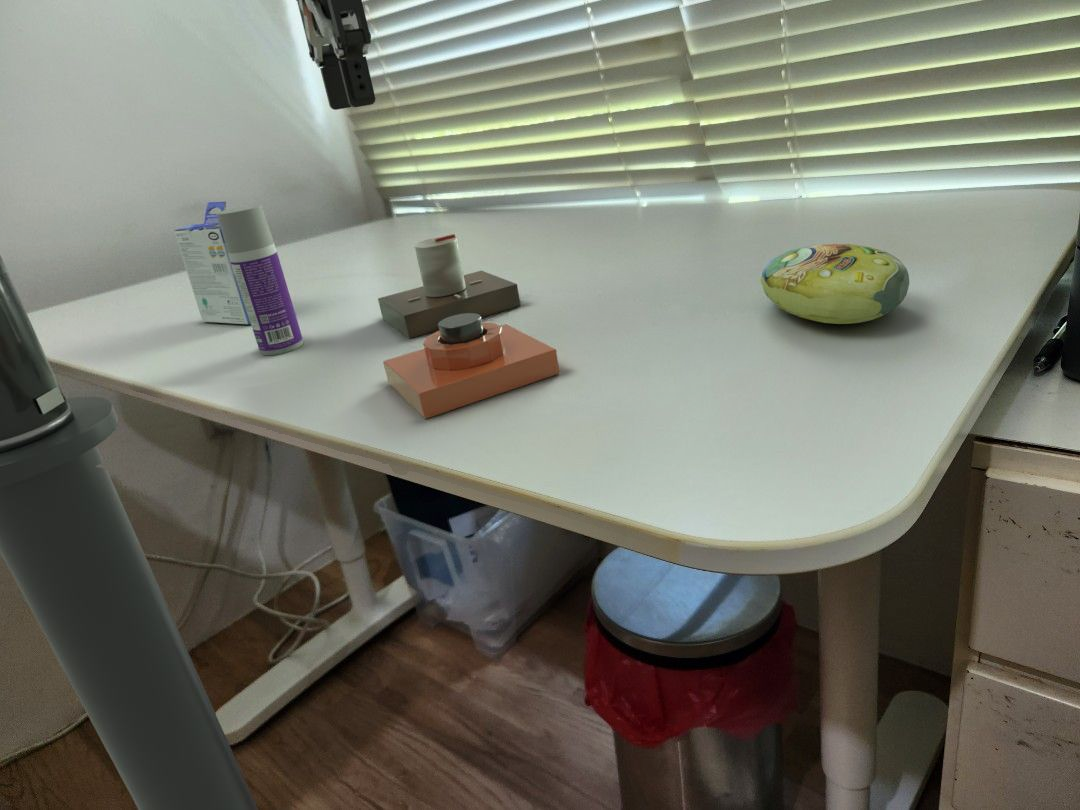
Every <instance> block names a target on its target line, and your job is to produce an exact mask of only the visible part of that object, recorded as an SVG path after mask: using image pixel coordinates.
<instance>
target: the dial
mask: <svg viewBox="0 0 1080 810" xmlns="http://www.w3.org/2000/svg"><path fill="white" fill-rule="evenodd" d="M457 239H458V238H457V237H456V235H455V234H454V233H452V234H447V235H443V236H439V237H433V238H429V239H425V240H422V241H419V242H417V243H416V244H414V251H415V255H416V260H417V264H418V268H419V273H420V277H421V282H422V286H423V287H424V291H425V295H426V296H428V297H442V296H448V295H452V294H456V293H458V292H461V291H463V290H464V289H465V288H466V284H465V279H464V275H465V274H464V269H463V265H462V259H461V253H460V248H459V244H458V240H457Z"/></svg>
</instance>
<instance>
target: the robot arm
mask: <svg viewBox="0 0 1080 810" xmlns="http://www.w3.org/2000/svg"><path fill="white" fill-rule="evenodd" d="M295 1H296V3H297V6H298V11H299V14H300V19H301V23H302V26H303V31H304V34H305V39H306V43H307V46H308V50H309V52H308V54H309V58H311V61H312V62H314V63H315V64H316V67H317V68H319V69H320V74H321V78H322V82H323V85H324V89H325V93H326V97H327V101H328V106H329V107H330V109H331V110H334V111H337V110H343V109H349V108H360V107H365V106H371V105H372V106H373V104H374V103H375V102H376V95H375V91H374V85H373V82H372V79H371V77H372V76H371V73H370V69H369V64H368V60H367V56H365V55H368V53H369V52H368V50H369V46H368V45H371V44H372V34H371V32H370V30H369V29H370V28H369V25H368V21H367V16H366V12H365V8H364V4H363V0H295ZM66 399H67V398H66V396H65V394H64V393H63V391H62V389H61V386H60V385H59V382H58V380H57V378H56V374H55V372H54V371H53V368H52V366H51V364H50V362H49V360H48V357H47V355H46V353H45V351H44V349H43V346H42V344H41V342H40V340H39V338H38V335H37V333H36V332H35V329H34V327H33V324H32V322H31V320H30V318H29V316H28V313H27V312H26V309H25V307H24V305H23V302H22V300H21V297H20V295H19V293H18V291H17V289H16V286H15V284H14V282H13V280H12V278H11V275H10V274H9V271H8V269H7V267H6V265H5V263H4V261H3V258H2V255H0V453H2V452H6V451H10V450H13V449H16V448H19V447H22V446H25V445H28V444H31V443H33V442H35V441H38V440H40V439H42V438H45V437H47V436H49V435H51V434H53V433H54V432H56V431H58V430H60V429H61V428H63V427H64V426H65V425H67V424H68V423H69V422H70V421H71V420H72V419H73V416H74V415H73V412H72V410H71V408H70V406H69V404H68V403H67V402H66Z"/></svg>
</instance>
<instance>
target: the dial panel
mask: <svg viewBox="0 0 1080 810" xmlns="http://www.w3.org/2000/svg"><path fill="white" fill-rule="evenodd" d="M464 279H465V284H466V288H465V289H464V290H463V291H461V292H458V293H456V294H452V295H448V296H442V297H428V296H426V295H425V291H424V287H423V285H422V286H419V287H414V288H412V289H411V288H410V289H407V290H404V291H399V292H397V293H393V294H389V295H386V296H382V297H378V298H377V301H378V305H379V310H380V313H381V317H382V320H383V321H385V322H386V323H387V324H389V325H390V326H391V327H393V328H394V329H396V330H397V331H399V333H401V334H402V335H403V336H405V337H406V338H408V339H412V338H417V337H420V336H424V335H426V334H430V333H435V332H437V331H439V326H438V324H439V322H440V321H442V320H443V319H445V318H448V317H450V316H454V315H458V314H465V313H475V314H479V315H480V316H481V318H484V317H488V316H491V315H494V314H497V313H501V312H504V311H508V310H511V309H514V308H518V307H521V300H520V294H519V288H518V283H516V282H513V281H510V280H508V279H505V278H502V277H500V276H497V275H495V274H492V273H489V272H488V271H487V272H486V271H484V270H479V271H474V272H471V273H467V274H464Z"/></svg>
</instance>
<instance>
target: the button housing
mask: <svg viewBox="0 0 1080 810" xmlns="http://www.w3.org/2000/svg"><path fill="white" fill-rule="evenodd" d="M482 324H483V330H484V336H482V337H481V338H479V339H477V340H474V341H470V342H467V343H461V344H453V345H450V344H442V340H441V335H440V331H439V330H437V331H434V332H433V333H432V334H430V335H428V336H426V338H425V340H424V342H423V343H422V345H423V348H422V349H419V350H415V351H412V352H409V353H406V354H402V355H398V356H395V357H393V358H389V359H385V360H383V362H382V363H383V367H384V370H385V375H386V379H387V382H388V385H389V386H390V387H392V388H393V390H395V391H396V393H398V394H399V395H400V396H401V397H402V398H403V399H404V400H405V402H407V403H408V404H409V405H410V406H411V407H412V408H413V409H414V410H415V411H416V412H417V413H418V414H419V415H420V416H421V417H422V418H424V420H427V419H431V418H433V417H436V416H438V415H441V414H444V413H448V412H451V411H453V410H456V409H459V408H462V407H466V406H468V405H471V404H474V403H477V402H479V401H482V400H485V399H489V398H492V397H495V396H498V395H501V394H503V393H506V392H510V391H512V390H515V389H518V388H521V387H523V386H527V385H530V384H533V383H536V382H539V381H542V380H544V379H547V378H550V377H553V376H556V375H559V374H560V372H561V371H560V367H559V359H558V353H557V349H556V348H554V347H552V346H551V345H549V344H546V343H545V342H542V341H540V340H538V339H537V338H534V337H532V336H530V335H528V334H526V333H524V332H523V331H521V330H519V329H516V328H515V327H512V326H511V325H508V324H506V323H505V324H501V325H499V324H497V323H494V322H485V321H482Z"/></svg>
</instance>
